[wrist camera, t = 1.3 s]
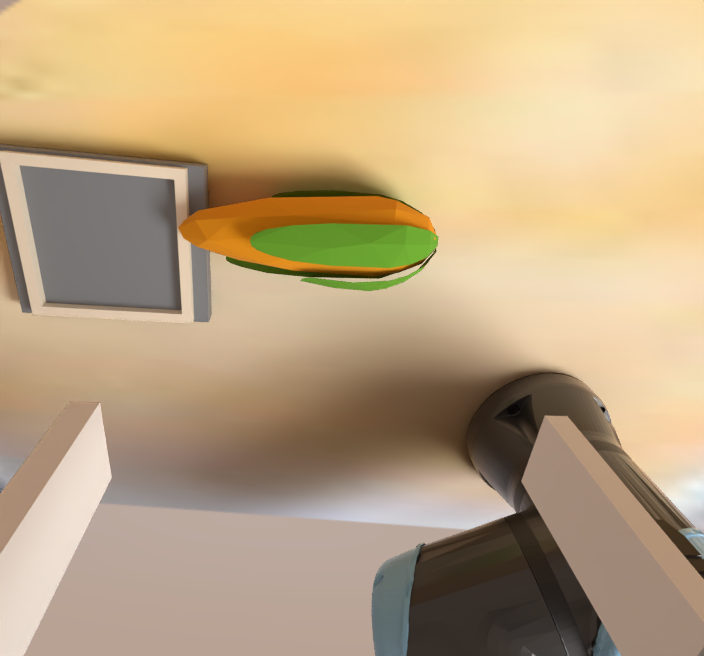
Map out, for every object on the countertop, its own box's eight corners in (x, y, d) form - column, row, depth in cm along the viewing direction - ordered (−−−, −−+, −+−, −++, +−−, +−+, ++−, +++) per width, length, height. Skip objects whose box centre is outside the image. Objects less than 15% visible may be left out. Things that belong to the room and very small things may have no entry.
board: (211, 315, 42) (206, 326, 40) (31, 305, 40) (17, 316, 38) (207, 164, 36) (201, 168, 34) (-3, 143, 34) (-22, 146, 32)
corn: (443, 305, 35) (169, 298, 33) (419, 277, 42) (192, 270, 40) (457, 204, 32) (159, 189, 30) (429, 193, 39) (186, 180, 37)
